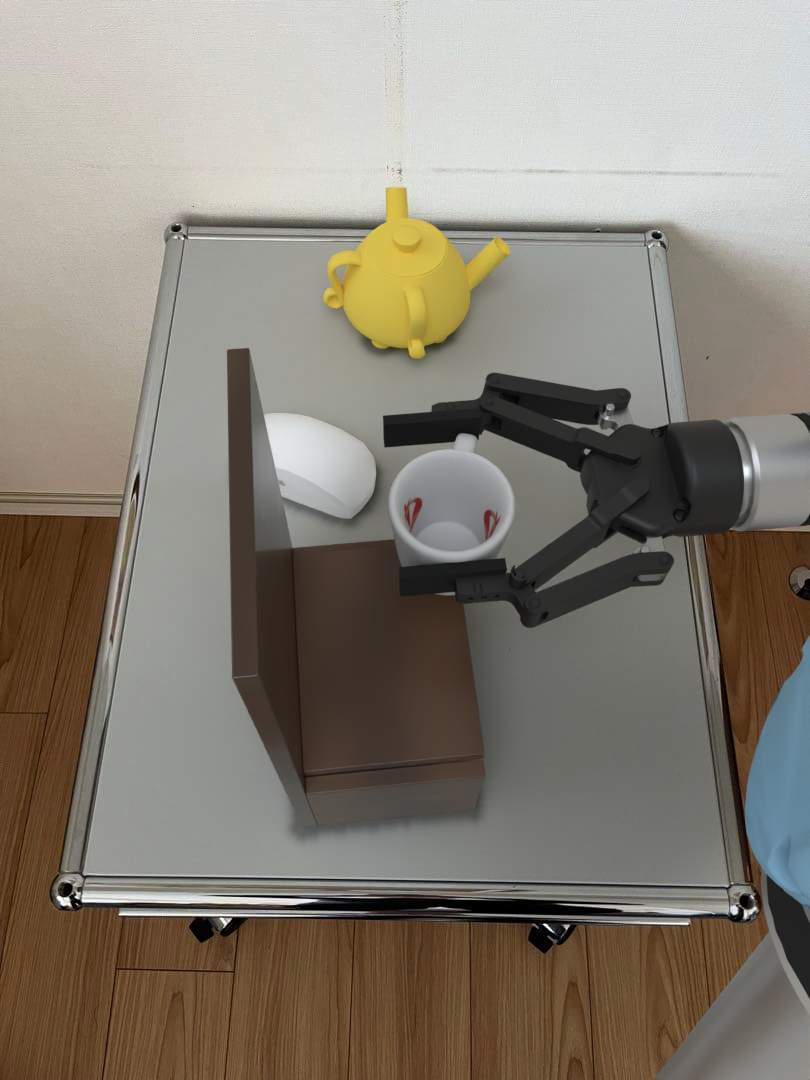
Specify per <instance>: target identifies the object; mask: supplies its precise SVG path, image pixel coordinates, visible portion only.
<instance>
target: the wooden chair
mask: <svg viewBox="0 0 810 1080" xmlns="http://www.w3.org/2000/svg"><path fill="white" fill-rule="evenodd" d="M255 373H256V372H255V369H254V364H253V359H252V355H251V351H250V348H249V347H242V348H240V347H239V348H228V349H227V350H226V384H227V385H226V388H227V391H226V392H227V397H226V398H227V450H228V451H227V452H228V509H229V510H228V511H229V512H228V513H229V514H228V517H229V518H228V521H229V522H228V523H229V575H230V577H229V579H230V585H229V586H230V641H231V643H230V645H231V679H232V681H233V683H234V685H235V687H236V689H237V692H238V694H239V696H240V698H241V700H242V702H243V705H244V706H245V709H246V711H247V713H248V715H249V717H250V719H251V722H252V723H253V727H254V728H255V730H256V732H257V735H258V737H259V738H260V741H261V742H262V745H263V747H264V749H265V751H266V754H267V755H268V758H269V760H270V762H271V764H272V766H273V768H274V770H275V772H276V774H277V777H278V779H279V781H280V783H281V786H282V787H283V790H284V792H285V793H286V796H287V798H288V800H289V802H290V804H291V807H292V809H293V810H294V813H295V815H296V818H297V819H298V821H299V823H300V825H301V828H303V829H304V828H316V827H325V826H334V825H343V824H353V823H365V822H374V821H383V820H394V819H402V818H412V817H421V816H431V815H432V816H433V815H443V814H452V813H462V812H471V811H474V810H475V808H476V805H477V803H478V799H479V796H480V793H481V791H482V788H483V785H484V782H485V779H486V769H485V768H486V767H485V762H484V757H485V754H486V753H485V746H484V740H483V739H484V738H483V732H482V724H481V718H480V711H479V704H478V696H477V690H476V683H475V676H474V669H473V661H472V654H471V648H470V641H469V633H468V626H467V620H466V611H465V606H464V605H465V604H463V603H459V602H456V597H455V595H438V594H426V595H415V596H403V597H400V588H399V567H402V565H401V563H400V560H399V556H398V553H397V548H396V544H395V539H394V538H390V539H380V540H369V541H368V540H367V541H357V542H356V541H355V542H345V543H334V544H321V545H310V546H309V545H308V546H299V547H297V546H296V547H293V543H292V538H291V534H290V529H289V525H288V521H287V516H286V510H285V505H284V502H283V497H282V496H281V492H280V487H279V483H278V478H277V473H276V469H275V464H274V460H273V455H272V450H271V446H270V441H269V437H268V432H267V428H266V423H265V418H264V415H265V414H264V409H263V405H262V401H261V396H260V391H259V387H258V381H257V378H256V374H255Z"/></svg>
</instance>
